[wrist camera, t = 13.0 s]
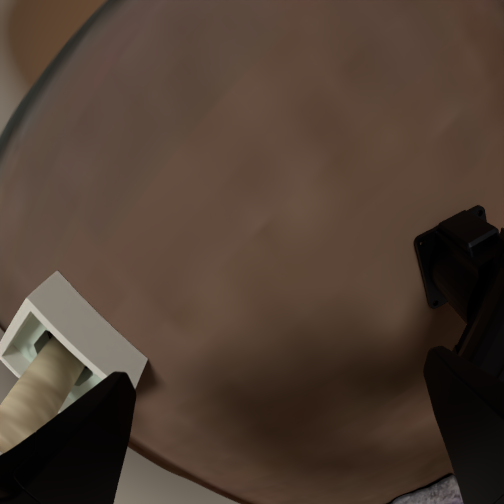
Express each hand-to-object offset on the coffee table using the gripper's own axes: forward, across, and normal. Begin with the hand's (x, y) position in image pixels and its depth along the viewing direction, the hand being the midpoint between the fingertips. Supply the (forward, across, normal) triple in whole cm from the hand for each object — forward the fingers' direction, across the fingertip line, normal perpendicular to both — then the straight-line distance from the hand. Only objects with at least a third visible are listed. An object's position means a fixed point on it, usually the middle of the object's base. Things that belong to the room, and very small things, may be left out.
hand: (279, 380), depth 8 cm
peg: (+13, +18, +9) cm, 24 cm away
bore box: (+13, +18, +9) cm, 24 cm away
